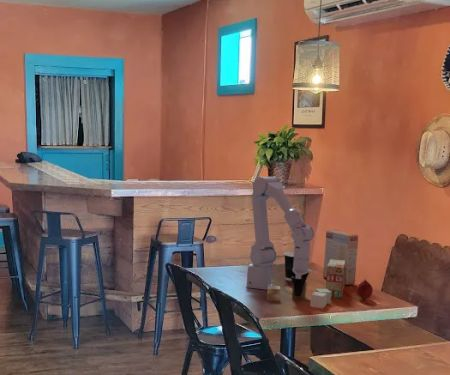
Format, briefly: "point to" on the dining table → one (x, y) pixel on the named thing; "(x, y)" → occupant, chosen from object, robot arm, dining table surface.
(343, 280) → the stack of blocks
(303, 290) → the walnut bar
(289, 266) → the dixie cup
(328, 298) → the sage block
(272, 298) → the maple block
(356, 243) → the cracker box
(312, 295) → the white block
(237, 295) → the dining table surface
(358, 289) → the onion
